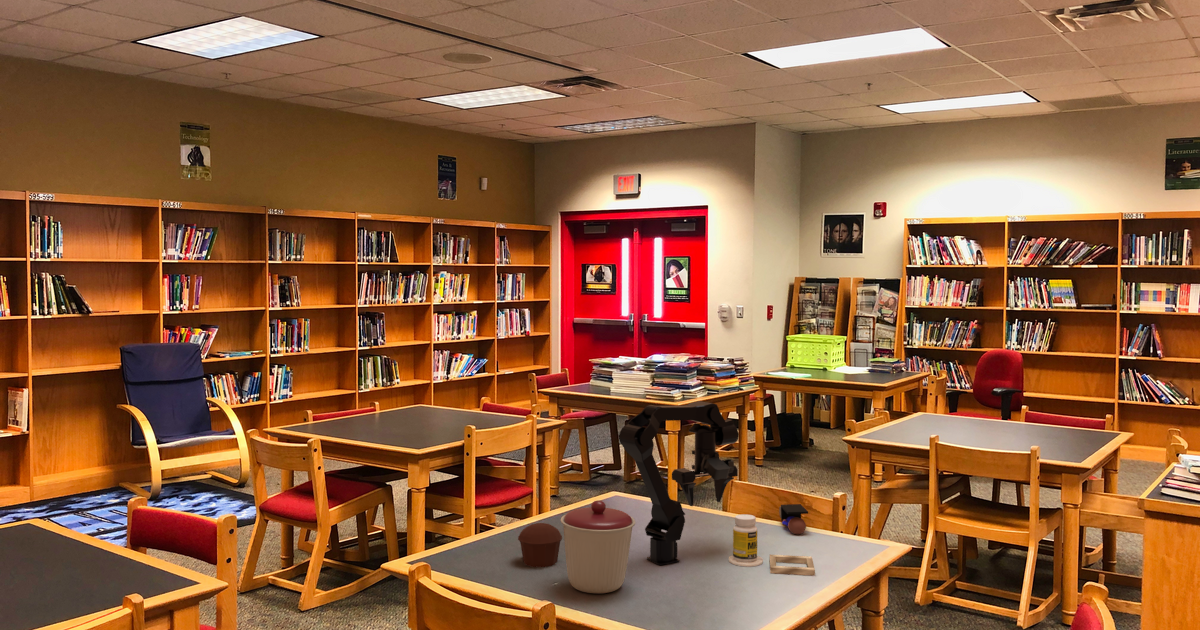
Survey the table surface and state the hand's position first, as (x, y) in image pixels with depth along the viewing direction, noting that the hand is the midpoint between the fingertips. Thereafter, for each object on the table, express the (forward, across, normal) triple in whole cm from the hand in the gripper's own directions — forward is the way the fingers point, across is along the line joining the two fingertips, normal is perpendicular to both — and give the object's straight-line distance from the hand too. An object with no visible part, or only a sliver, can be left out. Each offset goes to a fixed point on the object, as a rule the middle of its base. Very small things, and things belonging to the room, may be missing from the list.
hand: (704, 503), depth 250 cm
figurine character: (+13, +36, +5) cm, 39 cm away
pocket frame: (+13, +11, -23) cm, 29 cm away
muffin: (+13, -44, +13) cm, 48 cm away
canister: (+13, -41, -11) cm, 44 cm away
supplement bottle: (+13, +4, -13) cm, 18 cm away
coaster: (+13, +4, -13) cm, 19 cm away
